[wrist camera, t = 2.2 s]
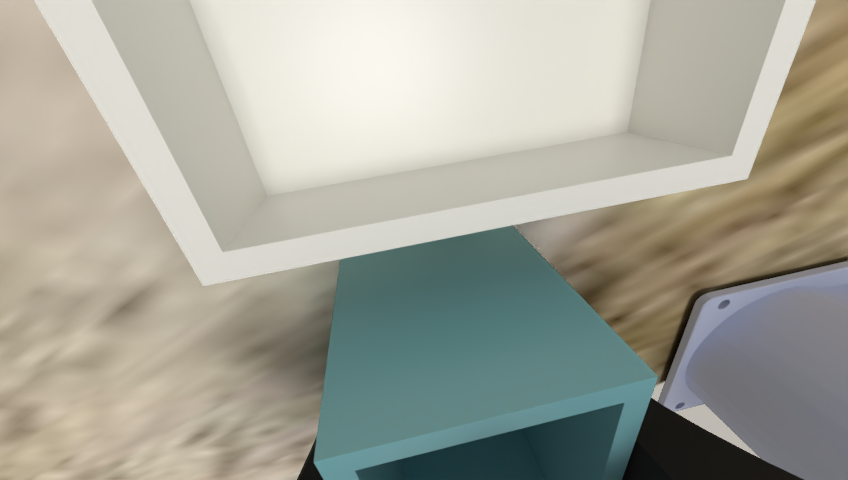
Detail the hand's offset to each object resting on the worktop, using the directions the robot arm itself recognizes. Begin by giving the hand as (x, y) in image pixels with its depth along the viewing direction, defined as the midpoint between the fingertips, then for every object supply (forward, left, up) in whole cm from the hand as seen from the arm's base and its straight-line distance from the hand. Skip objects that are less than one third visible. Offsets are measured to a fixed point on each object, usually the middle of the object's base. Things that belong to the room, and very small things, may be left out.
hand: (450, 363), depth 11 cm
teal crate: (0, 0, -2) cm, 2 cm away
